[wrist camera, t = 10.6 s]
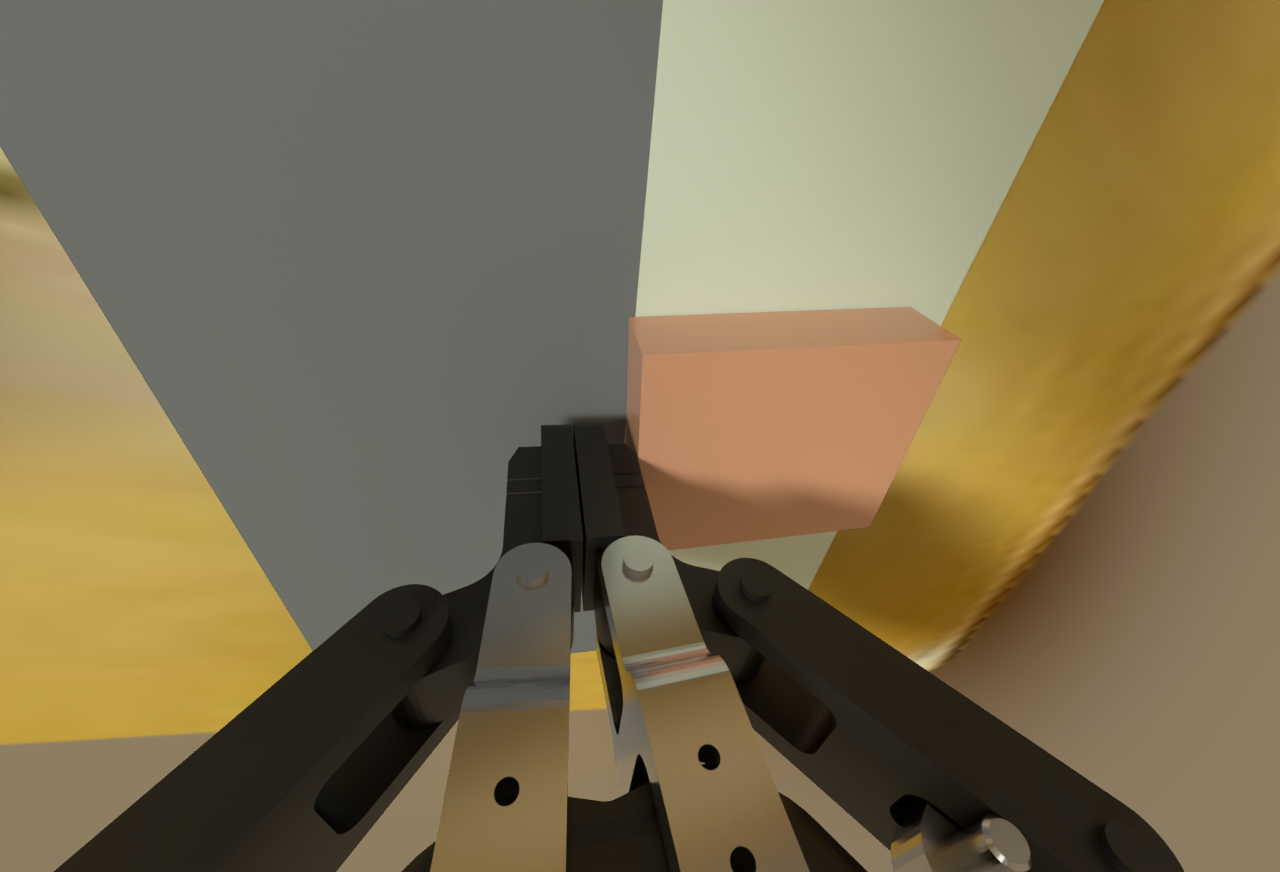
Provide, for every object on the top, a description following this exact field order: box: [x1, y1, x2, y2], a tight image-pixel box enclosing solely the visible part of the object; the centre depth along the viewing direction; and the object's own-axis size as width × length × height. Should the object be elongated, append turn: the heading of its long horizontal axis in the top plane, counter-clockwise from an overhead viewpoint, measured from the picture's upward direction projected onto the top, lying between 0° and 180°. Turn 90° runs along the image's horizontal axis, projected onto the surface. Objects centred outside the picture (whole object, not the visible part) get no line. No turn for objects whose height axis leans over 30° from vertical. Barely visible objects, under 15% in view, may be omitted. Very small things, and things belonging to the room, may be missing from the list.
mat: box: [0, 0, 1104, 653], centre depth 13 cm, size 22×18×1 cm
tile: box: [626, 307, 961, 550], centre depth 12 cm, size 6×2×7 cm
